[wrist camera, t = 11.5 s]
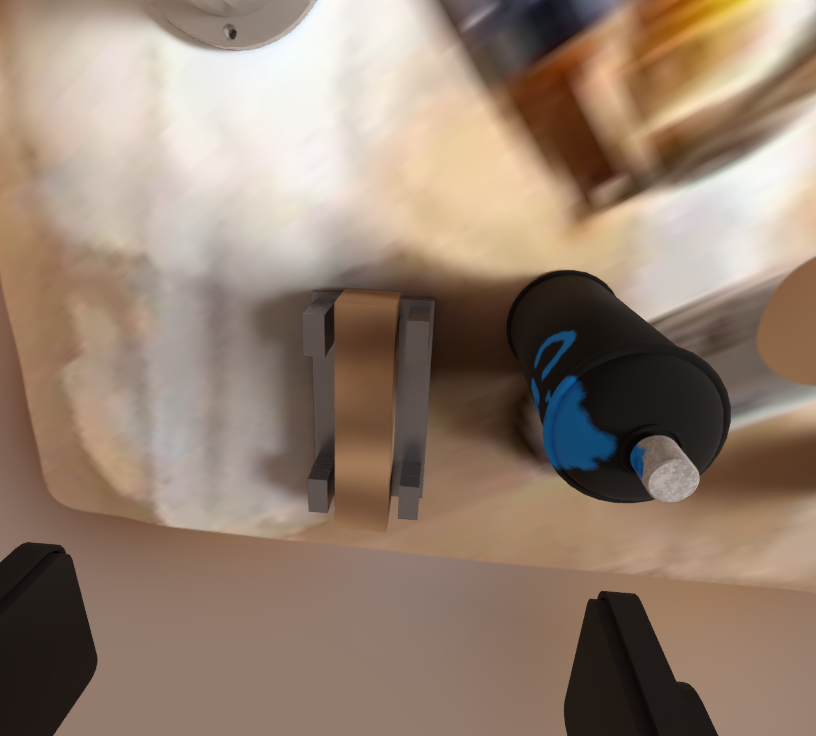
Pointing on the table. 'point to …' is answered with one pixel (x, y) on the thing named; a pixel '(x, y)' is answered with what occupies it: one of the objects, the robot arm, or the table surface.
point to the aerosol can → (615, 393)
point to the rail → (365, 406)
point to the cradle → (408, 399)
